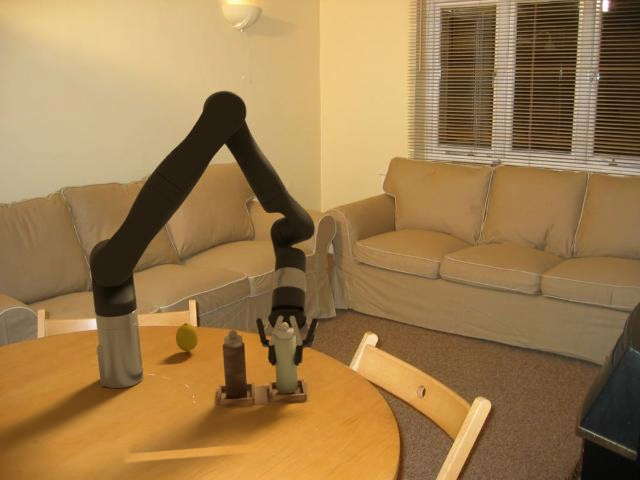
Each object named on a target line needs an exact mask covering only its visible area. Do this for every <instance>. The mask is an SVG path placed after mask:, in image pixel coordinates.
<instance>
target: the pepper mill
mask: <svg viewBox="0 0 640 480" xmlns="http://www.w3.org/2000/svg"><path fill="white" fill-rule="evenodd" d="M223 342H224V343H223V344H222V356H223V369H224V370H223V371H224V382H225V383H224V385H225V389H226V399H237V398H247V383H248V382H247V381H248V380H247V366H246V363H247V362H246V350H245V348H246V346H245V343H244V341H243V336H242V335H241V334H238V332H237V331H236V330H235V329H231V330H229V332H228V335H226V336H225V337H224V338H223Z"/></svg>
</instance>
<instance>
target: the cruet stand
mask: <svg viewBox="0 0 640 480" xmlns="http://www.w3.org/2000/svg"><path fill="white" fill-rule="evenodd" d="M297 380H298V390H297V391H295V392H293V393H288V394H285V393H280V392H278V391H277V385H276V380H271V381H270V380H269V381H268V385H267V384H266V385H255V382H247V398H237V399H226V389H225V384H219V385H218V388H216V393H215V404H214V405H215V407H214V409H223V408H225V409H226V408H234V407H235V408H237V407H248V406H249V407H250V406H261V405H262V406H263V405H264V406H265V405H274V404H287V403H288V404H289V403H299V402H300V403H302V402H304V403H305V402H311V399H310V393H309V388H308V383H307V382H305V379H304V378H297Z"/></svg>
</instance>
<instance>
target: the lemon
mask: <svg viewBox="0 0 640 480" xmlns="http://www.w3.org/2000/svg"><path fill="white" fill-rule="evenodd" d="M197 330H198V329H196V327H195V326H194V325H193V324H191V323H188V322H184V323H183V324H181V325H180V326H178V328H177V330H176V332H175V341H176V345H177V348H179V349H180V350H182V351H184V352H186V353H191V351H193V350H194V349H195V348H196V347H197V345H198V342H199V334H198V331H197Z"/></svg>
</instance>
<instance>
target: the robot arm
mask: <svg viewBox="0 0 640 480" xmlns="http://www.w3.org/2000/svg"><path fill="white" fill-rule="evenodd" d="M246 119H247V106H246V103H245V101H244V99H243V98H242V97H241V96H240V95H239V94H237V93H236V92H235V91H234V92H233V91H230V90H220V91H216V92H214V93H212V94H211V95H209V96H208V97H207V98H206V99H205V101H204V103H203V107H202V112H201V114H200V115H199V117H198V119H197V121H196V122H195V123H194V125H193V127H192V128H191V130H190V131H189V133H188V134H187V135H186V136H185V138H184V139H182V140H181V142H179V144H178V145H177V146H176V147H175V148H173V150H171V151H170V152H169V153H168V154H167V155H166V157H165V158H163V159H162V161H161V162H160V163H159V164H158V166H156V168H155V169H154V170H153V172H152V173H151V174H150V175H149V177H148V178H147V180H146V181H145V183H143V186H142V187H141V189H140V190H139V192H138V193H137V196H136V198H135V199H134V201H133V203H132V206H131V208H130V210H129V211H128V213H127V216H126V217H125V219H124V221H123V223H122V224H121V225H120V226H119V228H118V229H117V230H116V232H115V233H113V235H112V236H111V237H110V238H106V239H103V240H100V241H99V242H98V243H96V244H95V245H94V246H93V248H92V249H91V251H90V255H89V259H88V261H89V272H90V276H91V286H92V297H93V307H94V313H95V321H96V322H95V324H96V332H97V340H98V344H97V347H96V353H97V354H96V355H97V362H98V372H99V379H100V386H101V387H108V388H110V389H111V388H112V389H123V388H129V387H132V386H135V385H137V384H139V383H141V382H142V381H143V379H144V368H143V358H142V357H143V356H142V348H141V345H142V344H141V337H140V324H139V318H138V306H137V295H136V287H135V280H134V279H135V278H134V270H135V268H136V267H137V265H138V264H139V261H140V260H141V258H142V257H143V255H144V254H145V251H146V250H147V249H148V247H149V245H150V244H151V243H152V242H153V240H154V239H155V237H156V236H157V235H158V234H159V233H160V232H161V230H162V229H163V228H164V227H165V226H166V225H167V223H168V222H169V221H170V220H171V218H172V217H173V216H174V215H175V213H177V211H178V210H179V209H180V208H181V206H182V205H183V204H184V202H185V201H186V199H187V198H188V197H189V195H190V194H191V193H192V191H193V189H194V188H195V187H196V185H197V184H198V183H199V181H200V179H201V178H202V176H203V175H204V173H205V171H206V170H207V168H208V166H209V164H210V163H211V162H212V160H213V158H214V157H215V156H216V154H217V153H218V152H219V151H220V149H221V148H222V147H223V146H224V145H225V146H226V147H227V149H228V151H230V153H231V155H232V157H233V158H234V160H235V161H236V163H237V165H238V166H239V168H240V170H241V172H242V174H243V176H244V177H245V180H246V181H247V182H246V183H248V185H249V188H250V189H251V190H252V192H253V195H254V196H255V198H256V199H257V201H258V203H259V204H260V206H261V207H262V209H263V210H264V211H265V213H267V214H275V213H276V214H281V215H282V216H283V217H281V218H279V219H276V220H275V221H274V222H272V223H273V224H272V225H271V227H270V231H269V233H270V239H271V243H272V248H273V253H274V257H275V264H274V275H273V281H272V293H271V307H270V313H269V315H268V317H267V318H263V319H262V318H260V317H258V318H256V319H255V320H256V327H257V331H258V335H259V339H260V343H261V346H262V347H264V348H268V354H267V356H268V357H267V359H268V362H269V364H271V366H272V367H276V365H275V344H274V337H275V336H276V329H278V328H280V325H281V324H282V323H283V322H286V323H287V324H288V325H289V327H291V328H293V329H294V335H295V336H296V351H295V365H296V366H297V367H298V366H300V364H302V363H303V355H304V354H303V353H304V349H306V348H311V347H312V345H313V342H314V339H315V337H316V333H317V331H318V328H319V321H318V319H317V318H314V317H313V318H309V317H307V315H306V295H307V281H306V280H307V279H306V278H307V277H306V273H307V272H306V271H307V269H306V268H307V256H306V253H305V252H304V250H302V249H301V248H298V247H294V246H295V245H298V244H300V243H304V242H306V241H309V240H310V239H312V238H313V237H314V234H315V231H316V229H315V222H314V219H313V218H312V216H311V215H310V213H309V212H308V211H307V210H306V209H305V208H304V207H303V206H302V205H301V204H300V203H299V202H298V201H297V200H296V199H295V198H294V197H293V196H292V195H291V194H290V193H289V191H288V190H287V188H286V185H285V184H284V182H283V180H282V179H281V177H280V175H279V174H278V172H277V171H276V169H275V167H274V166H273V165H272V164H271V162H270V160H269V159H268V158H267V156H266V155H265V154H264V152H263V151H262V149H261V148H260V146H259V145H258V143H257V142H256V140H255V138H254V137H253V135H252V132H251V130H250V128H249V126H248V123H247V121H246ZM268 325H270V326H271V328H272V329H273V330H272V332H271V337H270V339H267V334H266V331H265V330H266V329H268ZM305 325H307V329H308V330H307V334H306V337H305V339H302V336H301V334H300V331H301V330H302V329H303V327H305Z"/></svg>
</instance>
